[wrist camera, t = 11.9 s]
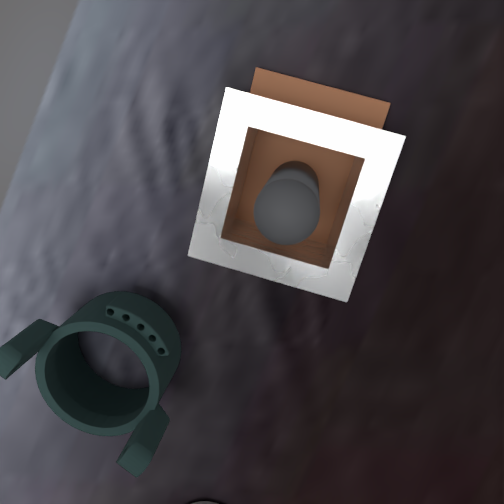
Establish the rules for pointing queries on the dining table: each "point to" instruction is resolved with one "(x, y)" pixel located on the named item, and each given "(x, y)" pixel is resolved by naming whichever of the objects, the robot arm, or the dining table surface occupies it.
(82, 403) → the bracket
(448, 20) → the dining table surface
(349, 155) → the keeper
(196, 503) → the beverage can
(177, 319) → the dining table surface
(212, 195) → the white square sleeve
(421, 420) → the dining table surface
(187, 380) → the dining table surface
